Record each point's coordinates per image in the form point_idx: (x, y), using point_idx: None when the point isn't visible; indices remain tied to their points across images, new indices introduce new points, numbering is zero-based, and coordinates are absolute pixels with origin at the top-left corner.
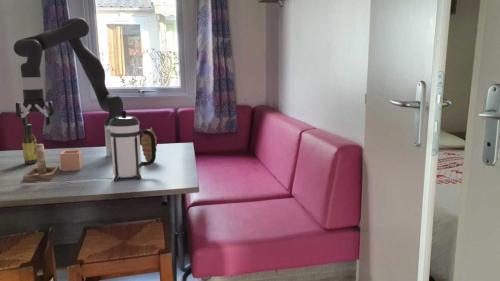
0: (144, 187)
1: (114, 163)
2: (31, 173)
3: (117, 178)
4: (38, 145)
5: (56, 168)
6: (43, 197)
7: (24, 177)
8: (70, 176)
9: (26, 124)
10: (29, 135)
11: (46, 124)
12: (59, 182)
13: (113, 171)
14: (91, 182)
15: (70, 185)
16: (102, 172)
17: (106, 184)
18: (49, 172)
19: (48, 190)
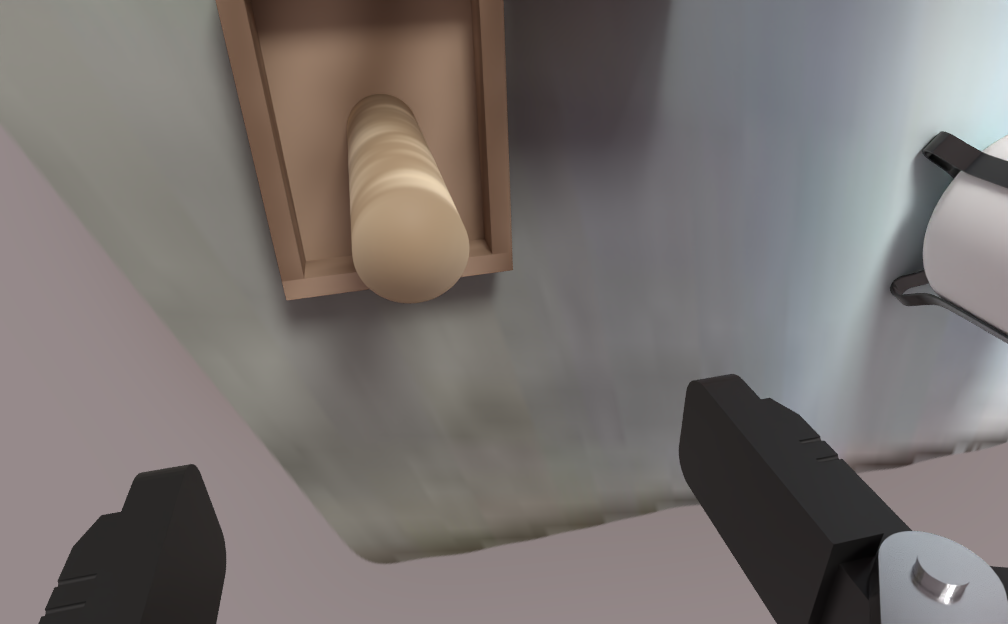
0: (992, 393)
1: (1001, 325)
2: (275, 131)
3: (919, 274)
4: (422, 301)
5: (495, 49)
6: (541, 516)
7: (298, 293)
8: (610, 118)
9: (209, 567)
10: None
11: (697, 487)
12: (559, 276)
13: (940, 269)
14: (761, 293)
15: (642, 344)
16: (853, 25)
17: (838, 337)
18: (407, 20)
19: (534, 424)
